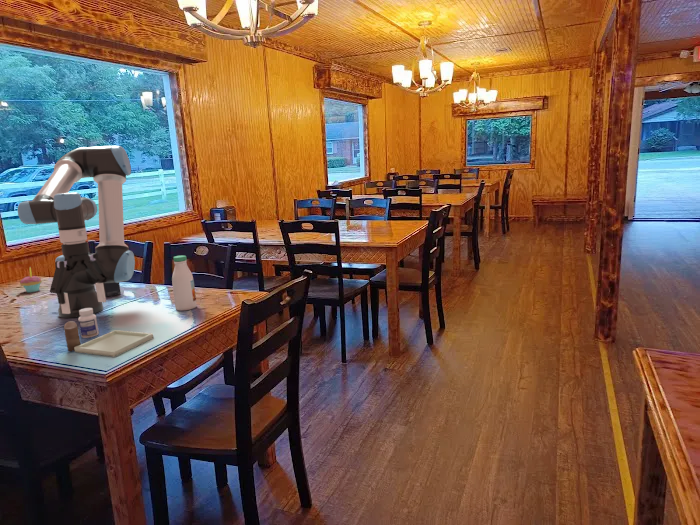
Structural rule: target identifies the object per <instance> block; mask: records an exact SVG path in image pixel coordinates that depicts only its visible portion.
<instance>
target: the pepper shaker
mask: <svg viewBox="0 0 700 525" xmlns="http://www.w3.org/2000/svg"><path fill="white" fill-rule="evenodd" d="M78 327H79V325H78V324H77V323H76V321H74V320H68V321H67V322H66V323H64V326H63V330H64V336H65V342H66V346H67V351H68V352H71V353H72V352H75V350H74V347H76V346H79V345H81V344H82V343H81V338H80V337H81V336H80V334H79V328H78Z"/></svg>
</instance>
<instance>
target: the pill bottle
mask: <svg viewBox="0 0 700 525" xmlns="http://www.w3.org/2000/svg"><path fill="white" fill-rule="evenodd" d="M79 314H80V315H81V316H80V317H77V318H78V319H77V321H78V327H79V331H80V337H81V338H82V339H89V338H93V337H96V336H98V335H99V334H100V330H99V325H98V320H97V315H96V313H94V314H93V308H84V309H81V310H79Z"/></svg>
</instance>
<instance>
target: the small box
mask: <svg viewBox="0 0 700 525" xmlns="http://www.w3.org/2000/svg"><path fill="white" fill-rule="evenodd" d="M105 289H106V290H105V298H108V297H113V296H119V295H121V284H120V282H119V283H116V282H114V283H105Z"/></svg>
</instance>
